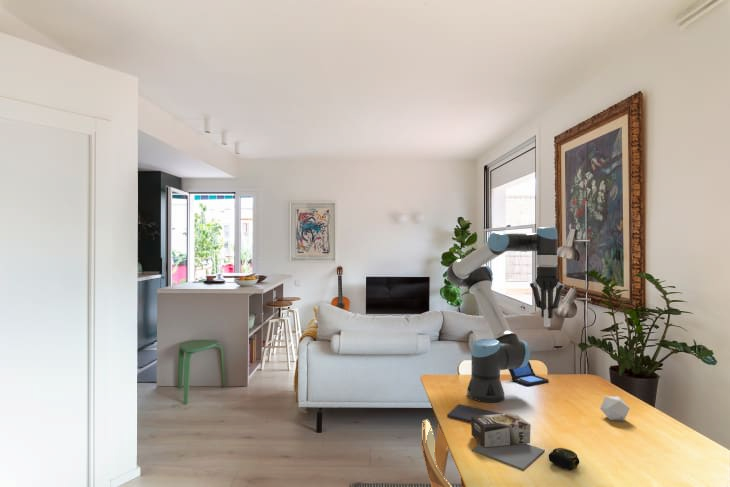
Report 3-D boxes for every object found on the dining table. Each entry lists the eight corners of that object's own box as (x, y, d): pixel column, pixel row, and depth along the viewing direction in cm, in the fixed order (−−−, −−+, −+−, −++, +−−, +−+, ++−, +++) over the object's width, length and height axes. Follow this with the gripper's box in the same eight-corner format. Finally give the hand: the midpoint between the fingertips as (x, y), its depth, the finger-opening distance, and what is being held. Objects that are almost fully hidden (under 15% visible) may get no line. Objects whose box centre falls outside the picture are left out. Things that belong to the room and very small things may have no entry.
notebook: (447, 418, 148) (506, 432, 137) (447, 414, 148) (506, 428, 137) (458, 407, 159) (514, 420, 148) (458, 403, 159) (514, 415, 148)
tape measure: (547, 464, 116) (547, 451, 116) (560, 457, 120) (560, 444, 120) (570, 475, 110) (570, 461, 110) (583, 467, 114) (583, 454, 114)
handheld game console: (527, 387, 184) (527, 367, 184) (504, 379, 196) (504, 360, 196) (550, 382, 191) (550, 363, 191) (526, 374, 203) (526, 356, 203)
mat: (471, 450, 123) (471, 448, 123) (495, 434, 134) (495, 433, 134) (523, 470, 112) (523, 468, 112) (544, 451, 123) (544, 449, 123)
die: (628, 427, 142) (637, 402, 146) (605, 413, 144) (614, 389, 147) (615, 426, 150) (623, 403, 153) (593, 413, 152) (601, 390, 155)
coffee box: (531, 423, 127) (484, 427, 124) (530, 443, 127) (484, 448, 123) (514, 411, 136) (470, 415, 132) (514, 431, 136) (470, 435, 132)
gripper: (567, 266, 156) (568, 327, 156) (534, 265, 165) (534, 323, 165) (561, 266, 151) (561, 329, 150) (526, 265, 160) (526, 325, 159)
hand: (547, 326), depth 158 cm, fingers closed
